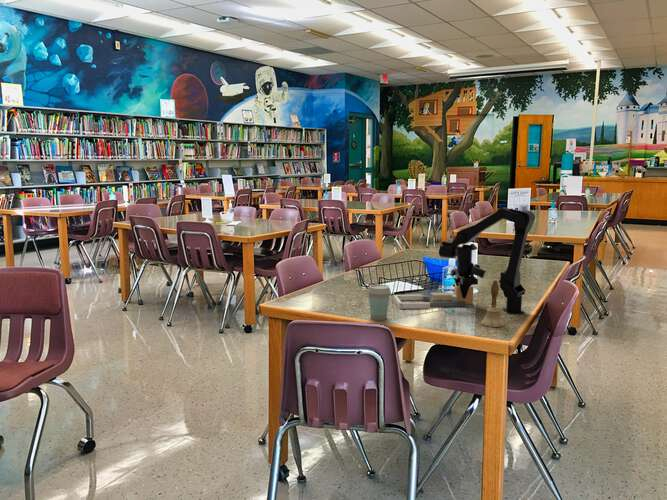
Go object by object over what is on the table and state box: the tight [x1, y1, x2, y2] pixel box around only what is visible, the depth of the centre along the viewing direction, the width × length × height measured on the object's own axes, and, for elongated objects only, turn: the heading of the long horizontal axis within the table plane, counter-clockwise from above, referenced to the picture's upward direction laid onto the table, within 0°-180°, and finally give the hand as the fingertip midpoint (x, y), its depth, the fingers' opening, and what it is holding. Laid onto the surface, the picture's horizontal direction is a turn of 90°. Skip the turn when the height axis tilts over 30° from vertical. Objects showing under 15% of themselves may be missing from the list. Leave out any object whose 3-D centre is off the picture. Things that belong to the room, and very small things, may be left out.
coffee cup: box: [367, 283, 391, 321], centre depth 216 cm, size 9×9×12 cm
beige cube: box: [440, 292, 452, 301], centre depth 239 cm, size 4×4×4 cm
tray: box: [392, 294, 431, 309], centre depth 238 cm, size 14×12×2 cm
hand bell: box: [480, 279, 505, 328], centre depth 209 cm, size 8×8×16 cm
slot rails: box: [422, 295, 467, 308], centre depth 239 cm, size 11×15×2 cm
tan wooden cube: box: [429, 292, 443, 302], centre depth 239 cm, size 4×4×4 cm
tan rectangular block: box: [450, 285, 474, 305], centre depth 239 cm, size 6×9×7 cm
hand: (463, 297), depth 239 cm, fingers closed on tan rectangular block, 3 cm apart
